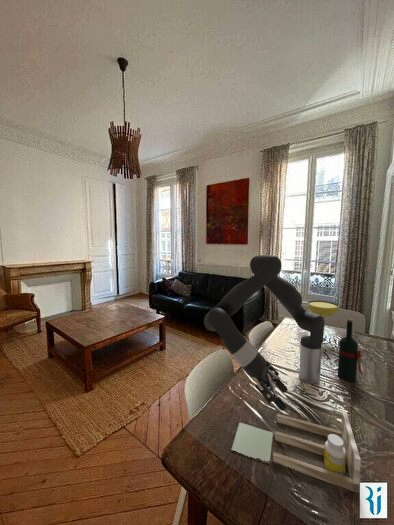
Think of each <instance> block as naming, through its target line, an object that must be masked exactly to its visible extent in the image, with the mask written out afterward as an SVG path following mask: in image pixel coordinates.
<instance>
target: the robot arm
mask: <svg viewBox="0 0 394 525" xmlns="http://www.w3.org/2000/svg"><path fill="white" fill-rule="evenodd" d="M249 266H250V271H251V273H252V274H253V275H251V276H250V277H248V278H247V279H245V280H243V281H241V282H240V283H237V284H236V285H235V286H233V287H232V288H231V289H230V290H228V292H227V293H226V294H225V295H224V296H223V297H222V298H221V300H220V301H219V302H218V303H217V304H216V305H215V306H214V307H213V308H211V309H210V310H209V311H208V312H207V313H206V314H205V315H204V319H203V325H204V327H205V328H206V329H207V330H208V331H211V332H216V333H217V334H218V335H219V336H220V338H221V342H222V345H224V347H225V349H226V350H227V351H229V354H231V355H232V357H233V358H234V360H235V361H236V362H237V364H238V365H239V366H240V367H241V369H243V371H245V373H246V375H248V377H249V378H255V379H256V380H257V382H258V383H257V384H256V385H255V388H256V389H257V391H258V392H259V393H260V394H261V395H262V397H263V398H264V399H265V400H266V402H267V403H268V404H271V403H272V402H273V403H274V404H275V406H276V407H277V408H278V409H279V410H280V411H281V412H283V411H284V410H286V409H287V404H286V403H285V402H284V401H283V399H282V398H281V397H280V396H279V395H278V394H277V391H276V387H277V389H278V390H280V392H282V393H283V394H285V393H286V392H288V387H287V386H286V385H285V384H284V382H282V380H281V378H280V374H279V372H278V371H277V370H276V369H275V368H274V366H273V365H272V364H271V363H270V362H269V361H268V360H266V359H265V358H264V356H263V355H262V354H261V352H259V351H258V350H257V349H256V347H255V346H254V345H253V344H252V343H251V342H249V340H247V338H246V337H245V336H244V335H243V334H242V332H240V331H239V330H238V328H237V325H236V324H235V322H234V321H233V320H232V316H233V315H234V314H236V313H237V312H238V311H239V310H240V309H241V308H242V307H243V306H244V305H245V304H246V303H247V301H249V300H250V298H252V296H254V294H256V293H257V292H258V291H259V290H261V289H262V288H263V287H266V288H267V289H268V290H269V291H270V292H271V293H272V294H273V296H274V297H275V298H276V299H277V301H278V302H279V303H280V304H281V305H282V306H283V307H284V309H286V311H287V312H288V313H289V314H290V315H291V317H292V318H293V320H294V321H295V323H296V324H297V326H298V327H299V328H300V329H302V330H304V331H306V332H309V335H304V336H301V338H300V342H299V343H300V346H299V374H298V375H299V378H300V380H301V381H303V382H304V383H307V384H312V385H317V384H319V383H320V382H321V367H322V344H323V343H322V342H323V337H324V333H325V324H326V323H325V322H326V321H325V318H323V317H322V316H321V315H318V314H315V313H313V312H311V311H310V310H307V309H305V308H304V307H303V306H302V304H303V297H302V295H301V293H300V291H298V289H297V288H296V287H295V286H294V285H293V284H292V283H291V282H289V281H287V280H286V279H284V278H282V277H281V276H279V274H280V272H281V270H282V261H281V259H280V258H279V257H278V256H277V255H274V254H273V255H272V254H260V255H256V256H253V257H252V258H251V260H250V262H249Z"/></svg>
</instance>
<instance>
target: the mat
mask: <svg viewBox="0 0 394 525" xmlns="http://www.w3.org/2000/svg"><path fill="white" fill-rule="evenodd" d="M273 435H274V432H271V431H268V430H265V429H263V428H258V427H256V426H253V425H249V424H246V423H243V422H241V421H240V422H239V423H238V427H237V430H236V433H235V437H234V440H233V444H232V446H231V450H233V451H236V452H238V453H237V454H239V453H241V454H243V455H242V456H244V455H245V457H247V456H248V458H250V457H252V458H255V459H256V458H260V459H261V460H263V461H264V460H265V461H270V462H271V455H272V446H273V437H274V436H273ZM231 450H230V451H231ZM233 451H232V452H233ZM236 452H235V453H236ZM241 454H240V455H241ZM252 458H251V459H252ZM255 459H254V460H255Z"/></svg>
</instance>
